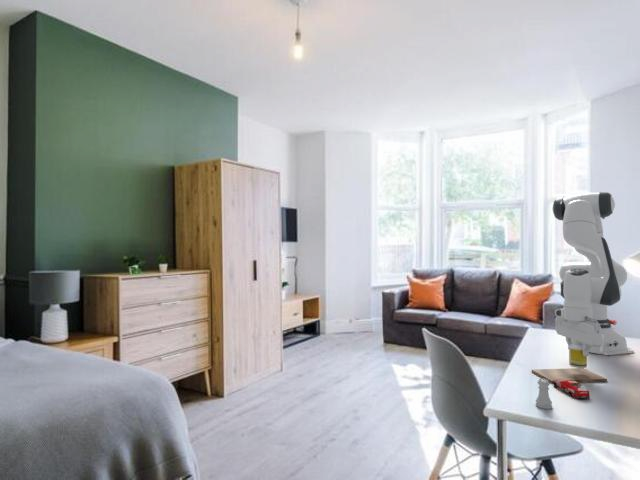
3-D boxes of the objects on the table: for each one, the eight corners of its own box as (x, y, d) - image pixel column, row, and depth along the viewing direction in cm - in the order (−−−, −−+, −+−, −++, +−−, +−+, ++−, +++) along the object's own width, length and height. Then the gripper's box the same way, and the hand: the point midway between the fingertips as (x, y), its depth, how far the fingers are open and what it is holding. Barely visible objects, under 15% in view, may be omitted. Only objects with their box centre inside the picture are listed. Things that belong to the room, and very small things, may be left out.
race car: (550, 385, 138) (550, 374, 138) (566, 385, 138) (566, 374, 138) (575, 401, 125) (575, 388, 125) (592, 400, 125) (592, 387, 125)
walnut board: (583, 370, 152) (583, 368, 152) (607, 381, 141) (607, 378, 141) (531, 372, 151) (531, 369, 151) (551, 383, 139) (551, 380, 139)
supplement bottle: (589, 369, 143) (589, 341, 143) (572, 368, 144) (572, 340, 144) (583, 364, 148) (582, 337, 148) (566, 363, 149) (566, 337, 149)
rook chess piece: (532, 403, 123) (531, 377, 123) (546, 403, 123) (545, 376, 123) (541, 410, 118) (541, 382, 118) (555, 409, 119) (555, 382, 119)
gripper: (608, 319, 136) (608, 361, 136) (567, 309, 156) (568, 345, 156) (590, 320, 136) (590, 361, 136) (551, 309, 156) (552, 345, 156)
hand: (578, 352), depth 146 cm, fingers closed on supplement bottle, 5 cm apart
